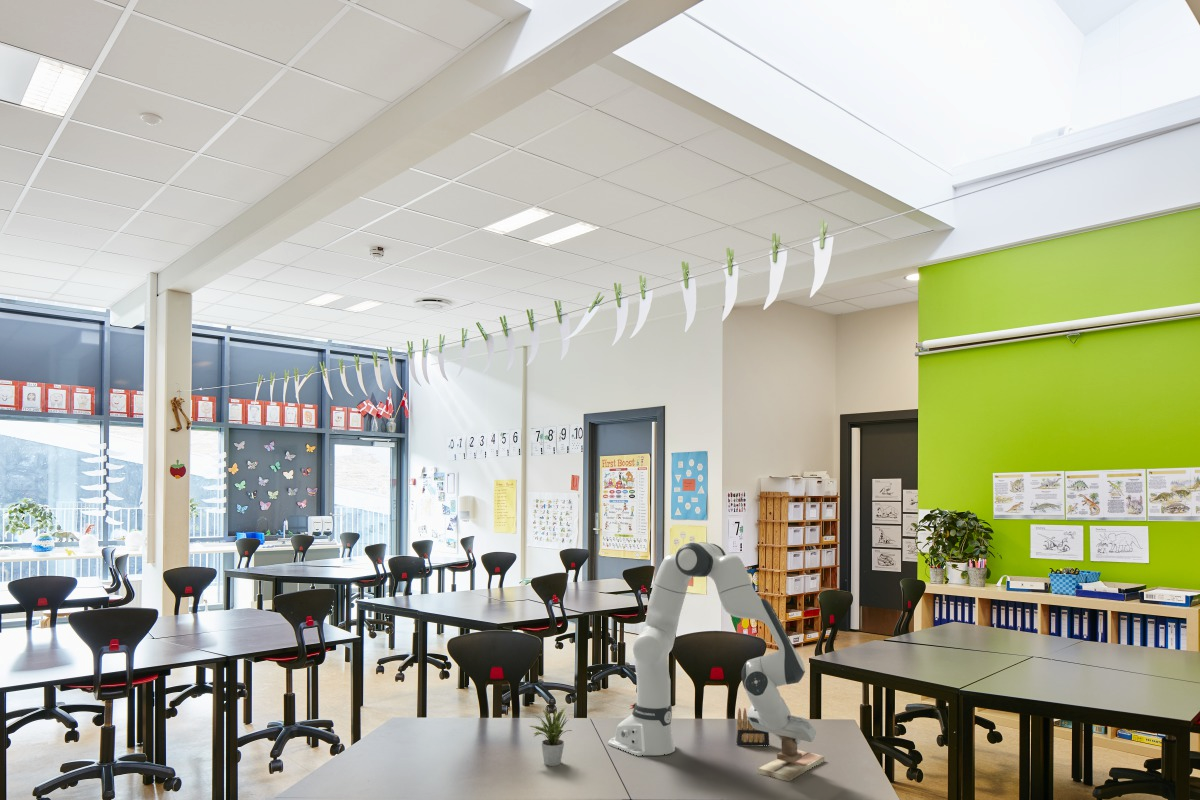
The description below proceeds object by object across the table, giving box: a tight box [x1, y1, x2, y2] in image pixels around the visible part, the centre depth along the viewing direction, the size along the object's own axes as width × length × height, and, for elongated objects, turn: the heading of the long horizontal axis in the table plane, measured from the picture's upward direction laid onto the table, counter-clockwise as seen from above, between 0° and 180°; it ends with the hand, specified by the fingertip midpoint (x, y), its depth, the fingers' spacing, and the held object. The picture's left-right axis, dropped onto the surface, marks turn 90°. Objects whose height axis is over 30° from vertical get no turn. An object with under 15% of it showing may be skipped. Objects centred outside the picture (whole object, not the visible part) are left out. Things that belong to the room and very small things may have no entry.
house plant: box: [529, 707, 573, 767], centre depth 262 cm, size 14×14×16 cm
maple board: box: [757, 749, 825, 782], centre depth 259 cm, size 10×24×2 cm, turn 140°
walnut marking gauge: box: [776, 736, 802, 763], centre depth 259 cm, size 6×6×11 cm
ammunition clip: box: [736, 707, 770, 747], centre depth 281 cm, size 11×2×12 cm, turn 89°
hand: (790, 739), depth 259 cm, fingers closed on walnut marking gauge, 3 cm apart
